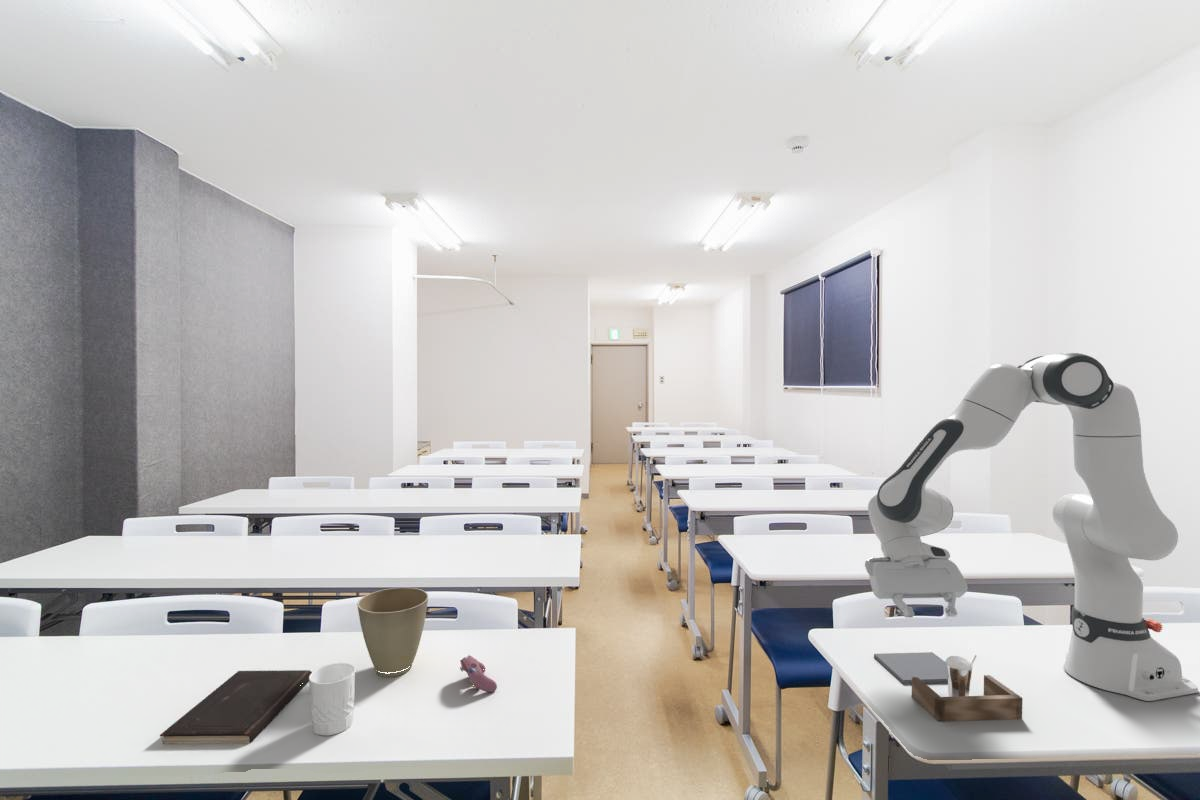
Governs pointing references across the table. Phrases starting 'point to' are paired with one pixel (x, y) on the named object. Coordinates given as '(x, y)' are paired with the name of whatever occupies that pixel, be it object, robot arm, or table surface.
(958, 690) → the milkshake
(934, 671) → the grey pad
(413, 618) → the plant pot
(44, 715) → the table surface
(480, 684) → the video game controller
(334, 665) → the white cup
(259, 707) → the hardcover book
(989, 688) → the walnut cubby
